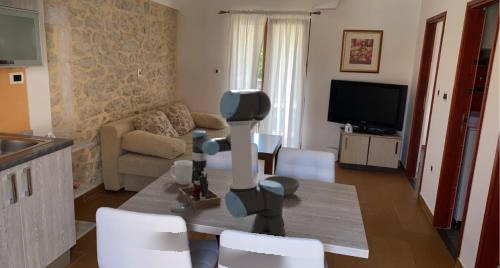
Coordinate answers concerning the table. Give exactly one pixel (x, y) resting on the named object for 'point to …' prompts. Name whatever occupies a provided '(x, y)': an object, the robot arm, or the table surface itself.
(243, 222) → the table surface
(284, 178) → the bowl
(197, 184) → the mug
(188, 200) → the caddy
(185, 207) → the coaster
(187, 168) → the mug
